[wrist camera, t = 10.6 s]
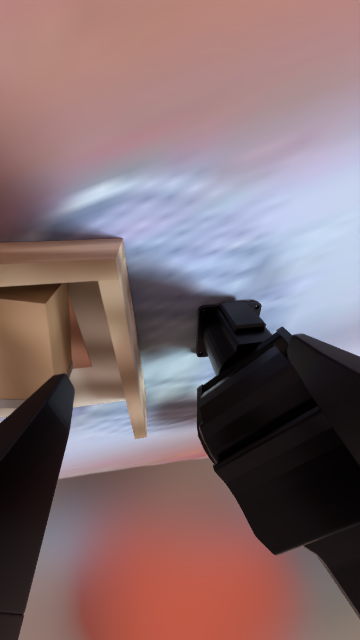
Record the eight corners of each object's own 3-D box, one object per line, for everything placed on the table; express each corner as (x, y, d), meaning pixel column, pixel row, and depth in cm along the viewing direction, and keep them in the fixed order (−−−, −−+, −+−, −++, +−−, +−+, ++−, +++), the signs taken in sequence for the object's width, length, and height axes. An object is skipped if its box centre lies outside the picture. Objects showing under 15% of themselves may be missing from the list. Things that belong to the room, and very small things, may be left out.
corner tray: (145, 393, 26) (146, 437, 21) (-2, 413, 24) (-36, 466, 19) (122, 238, 16) (115, 258, 11) (-139, 247, 14) (-280, 278, 9)
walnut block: (68, 277, 16) (45, 304, 12) (72, 368, 21) (57, 408, 17) (-1, 266, 15) (-50, 293, 11) (21, 366, 20) (-8, 408, 16)
